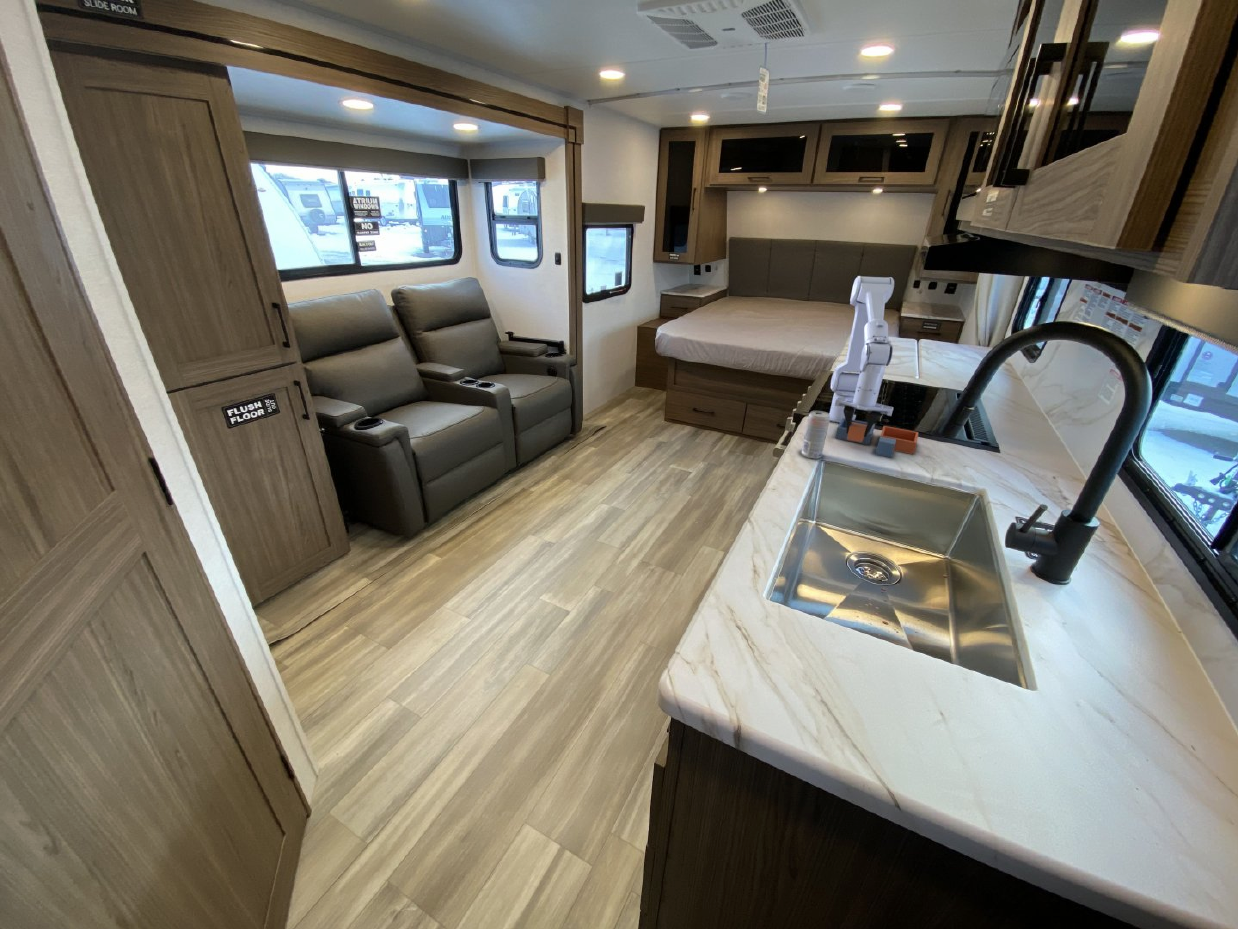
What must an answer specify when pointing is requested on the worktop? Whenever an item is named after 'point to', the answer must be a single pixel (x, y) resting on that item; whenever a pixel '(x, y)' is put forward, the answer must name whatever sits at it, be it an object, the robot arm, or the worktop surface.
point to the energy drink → (815, 434)
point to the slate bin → (843, 435)
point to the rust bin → (901, 438)
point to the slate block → (885, 446)
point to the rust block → (856, 432)
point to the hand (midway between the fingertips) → (856, 434)
